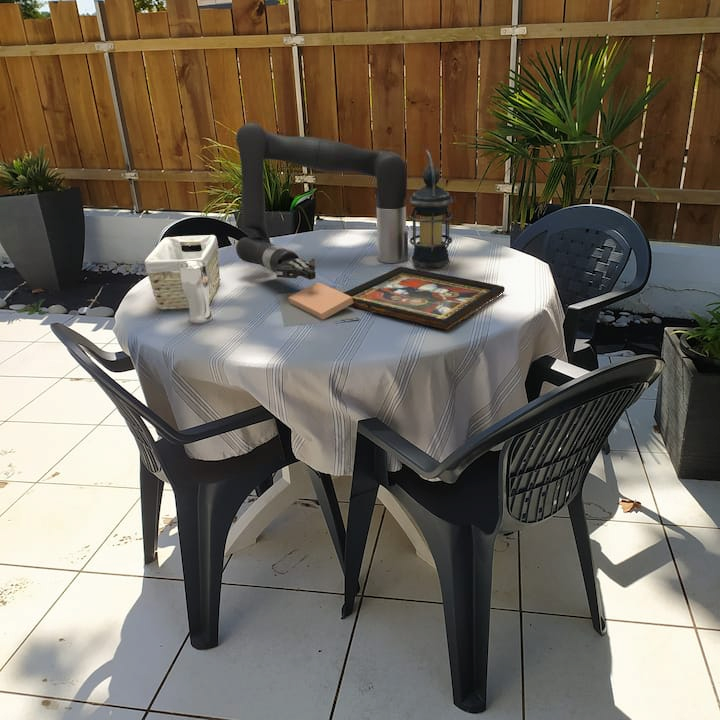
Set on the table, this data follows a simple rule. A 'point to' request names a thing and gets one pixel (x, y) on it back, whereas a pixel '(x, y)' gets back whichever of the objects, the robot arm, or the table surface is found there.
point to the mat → (299, 317)
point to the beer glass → (196, 290)
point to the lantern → (430, 220)
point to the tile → (321, 300)
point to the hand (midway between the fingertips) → (312, 275)
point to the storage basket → (167, 273)
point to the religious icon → (423, 296)
